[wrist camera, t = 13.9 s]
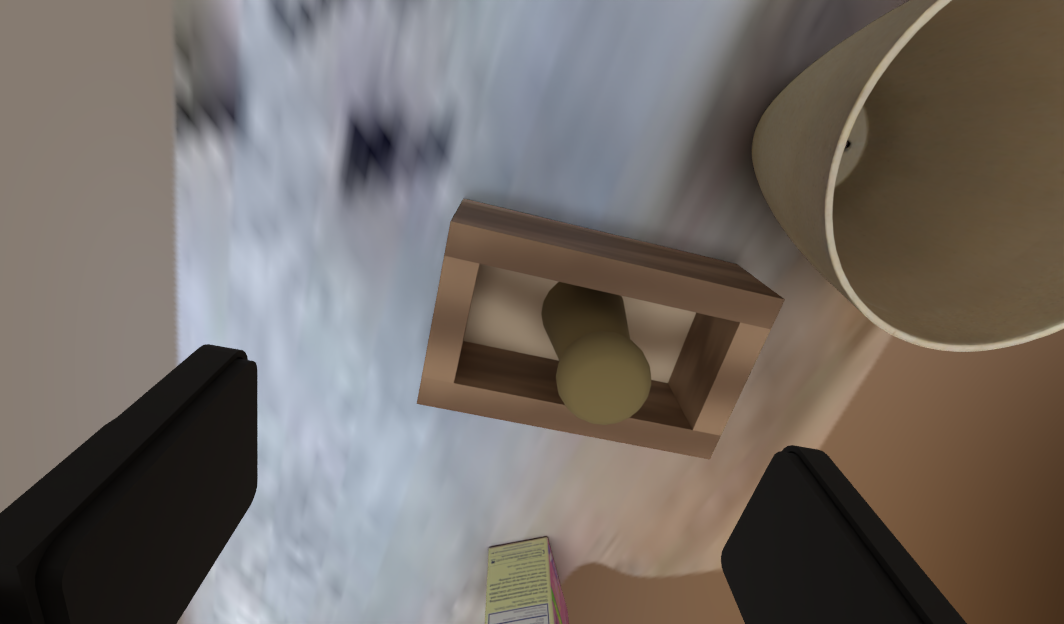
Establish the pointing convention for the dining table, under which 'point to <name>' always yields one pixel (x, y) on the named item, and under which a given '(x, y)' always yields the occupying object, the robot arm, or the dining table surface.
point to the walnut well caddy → (652, 316)
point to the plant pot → (931, 170)
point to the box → (524, 585)
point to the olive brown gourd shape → (595, 354)
